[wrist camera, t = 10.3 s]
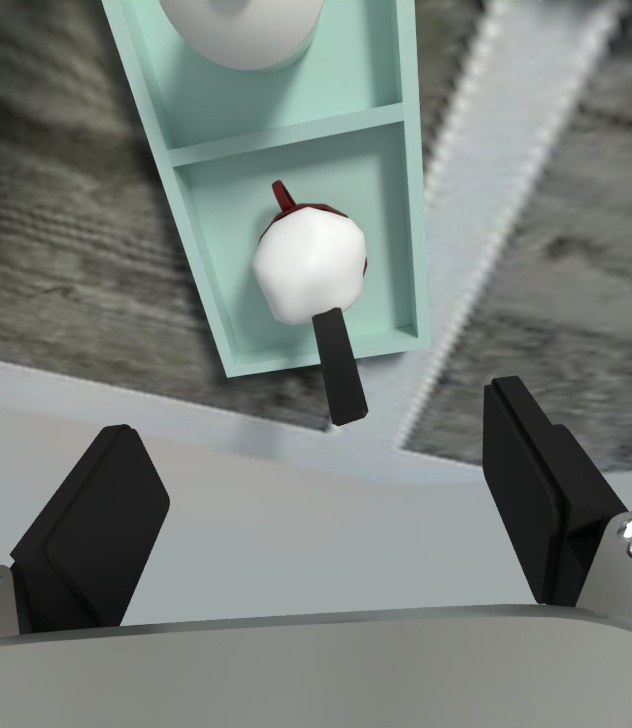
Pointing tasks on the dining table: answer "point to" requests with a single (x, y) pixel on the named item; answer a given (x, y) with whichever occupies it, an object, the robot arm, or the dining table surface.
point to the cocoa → (316, 288)
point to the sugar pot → (247, 30)
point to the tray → (290, 168)
